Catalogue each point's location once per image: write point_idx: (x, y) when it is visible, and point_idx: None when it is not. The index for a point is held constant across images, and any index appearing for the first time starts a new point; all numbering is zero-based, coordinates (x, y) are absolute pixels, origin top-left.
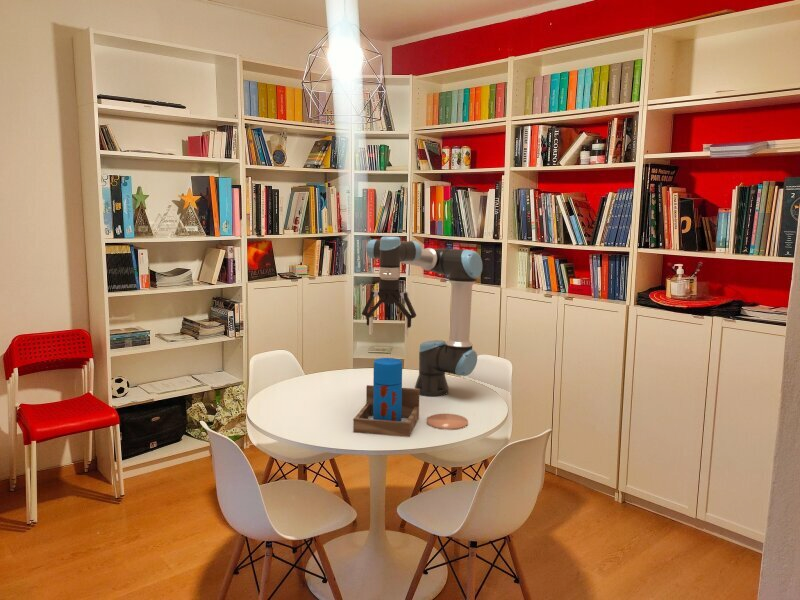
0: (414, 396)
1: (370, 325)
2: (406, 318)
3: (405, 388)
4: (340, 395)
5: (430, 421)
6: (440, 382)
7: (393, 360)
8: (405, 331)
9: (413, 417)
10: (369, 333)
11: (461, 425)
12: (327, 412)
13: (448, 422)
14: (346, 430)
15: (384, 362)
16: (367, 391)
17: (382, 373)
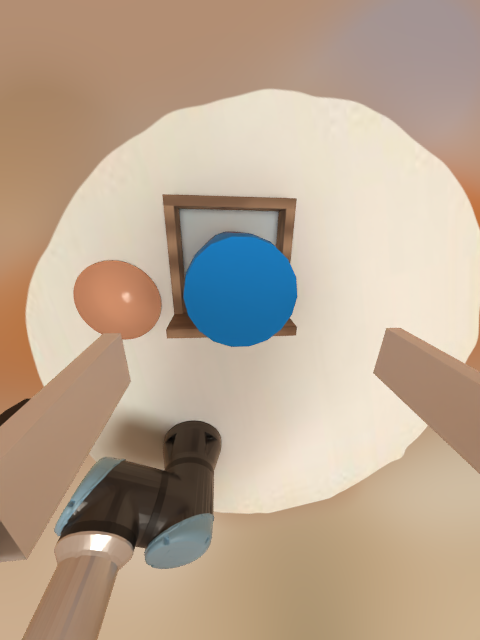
0: (180, 322)
1: (460, 368)
2: (16, 549)
3: (201, 333)
4: (337, 389)
5: (148, 288)
6: (170, 451)
7: (222, 313)
8: (91, 356)
9: (168, 249)
10: (404, 331)
11: (79, 279)
12: (350, 303)
13: (111, 291)
14: (302, 210)
15: (251, 270)
16: (290, 322)
17: (248, 233)
